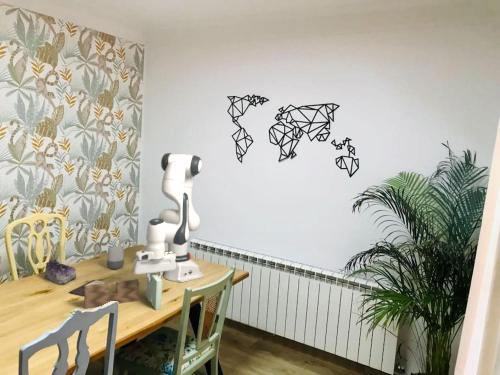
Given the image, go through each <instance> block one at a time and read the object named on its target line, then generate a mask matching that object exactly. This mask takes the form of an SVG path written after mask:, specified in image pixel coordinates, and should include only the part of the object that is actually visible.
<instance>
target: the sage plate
mask: <svg viewBox="0 0 500 375" xmlns="http://www.w3.org/2000/svg"><path fill="white" fill-rule="evenodd" d="M158 275H159V274H157V272H155V273H150V275H149V276H150V277H152V281H151V282H149V281H148V276H147V275H146V285H145V286H146V288H145V289H146V290H145V291H146V292H145V297H146V299H147V300H148V301H149V302H151V305H152V307H153V309H154V310H155V311H158V310H162V294H163V292H162V291H163V280H162V279H161V277H159V276H158Z"/></svg>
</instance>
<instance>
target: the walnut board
mask: <svg viewBox="0 0 500 375" xmlns="http://www.w3.org/2000/svg"><path fill="white" fill-rule="evenodd" d="M139 283H140V281H139V279H138V278H137V279H129V280H128V279H127V280H122V281H116V285H115V286H116V287H115V291H113V292H109V283H108V282H106V283H104V284H96V285H89V286H85V292H84V297H83V298H84V299H83V301H84V302H83V303H84V304H83V305H84V306H83V307H84V310H85V309H86V310H88V309H94V308H100V307H99V306H101V307H103V306H102V305H104V304H106V303H108V302H110V301H118V302H119V304H126V303H131V302H137V301H139V293H140V292H139V289H140V284H139ZM119 304H118V305H119Z"/></svg>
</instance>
